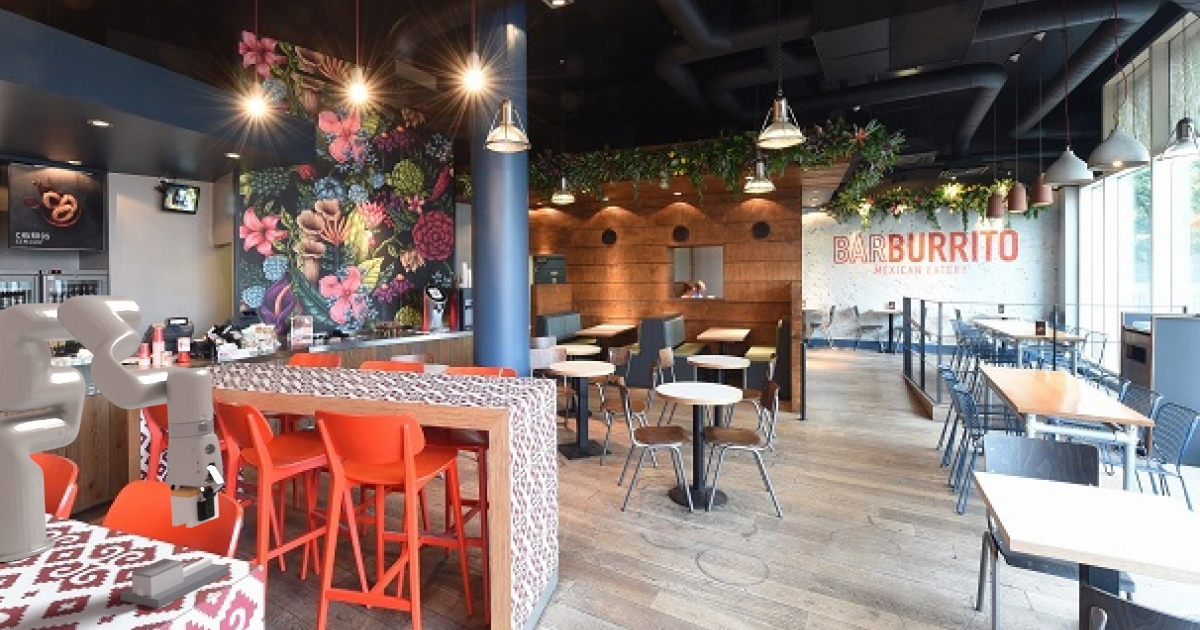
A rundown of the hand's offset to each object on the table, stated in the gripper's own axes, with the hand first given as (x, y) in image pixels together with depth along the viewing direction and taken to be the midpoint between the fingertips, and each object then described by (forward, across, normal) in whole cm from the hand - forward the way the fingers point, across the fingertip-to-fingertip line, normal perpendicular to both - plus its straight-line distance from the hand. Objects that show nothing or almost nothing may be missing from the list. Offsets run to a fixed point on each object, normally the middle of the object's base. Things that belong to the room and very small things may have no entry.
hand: (196, 516), depth 118 cm
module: (+1, 0, 0) cm, 1 cm away
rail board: (+12, +1, +4) cm, 13 cm away
